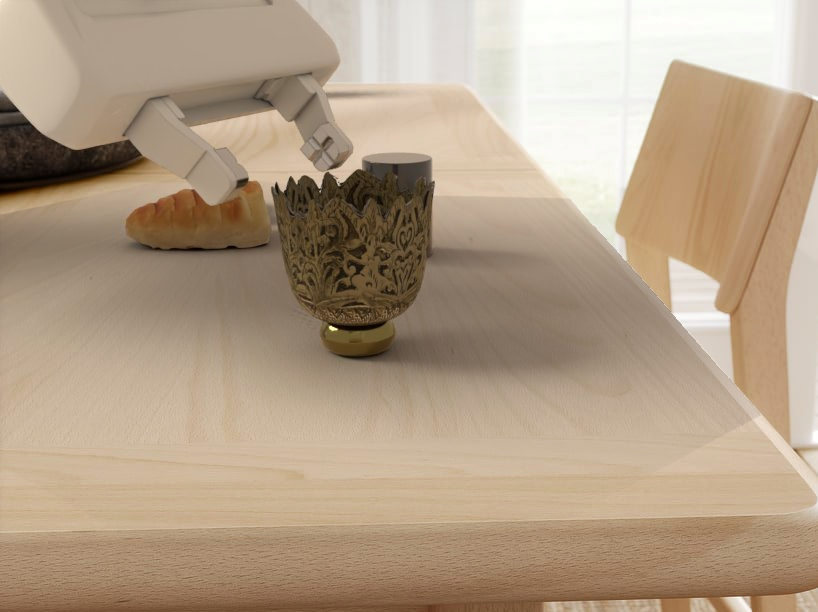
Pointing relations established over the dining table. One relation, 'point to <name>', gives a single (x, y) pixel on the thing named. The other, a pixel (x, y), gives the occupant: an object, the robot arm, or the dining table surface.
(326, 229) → the cup
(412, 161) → the dark gray cylinder
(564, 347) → the dining table surface
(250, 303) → the dining table surface
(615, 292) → the dining table surface
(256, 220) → the pastry
